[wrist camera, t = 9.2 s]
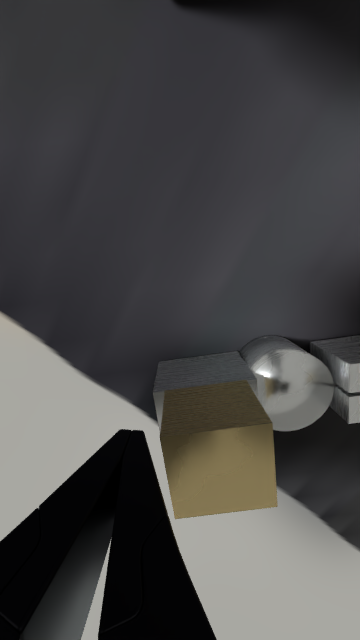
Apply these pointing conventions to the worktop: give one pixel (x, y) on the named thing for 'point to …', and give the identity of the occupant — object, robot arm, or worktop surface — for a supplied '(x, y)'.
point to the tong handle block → (258, 379)
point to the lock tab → (217, 450)
